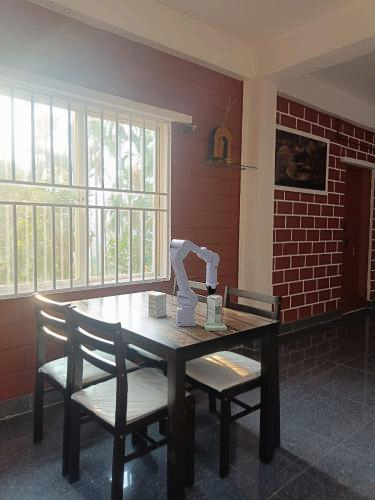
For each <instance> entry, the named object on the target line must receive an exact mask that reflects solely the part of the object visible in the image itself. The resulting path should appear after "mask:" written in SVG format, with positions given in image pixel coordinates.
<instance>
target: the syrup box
mask: <svg viewBox="0 0 375 500" xmlns="http://www.w3.org/2000/svg"><path fill="white" fill-rule="evenodd" d="M206 298H207V299H206V320H205V321H206V322H205V323H222V315H223V296H222V295H219V294H214V295H210V296H208V295H207V296H206Z"/></svg>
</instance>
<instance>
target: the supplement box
mask: <svg viewBox="0 0 375 500" xmlns="http://www.w3.org/2000/svg"><path fill="white" fill-rule="evenodd" d="M147 298H148V301H147V302H148V303H147V304H148V310H147V311H148V317H152V318H155V319H158V318H159V319H160V318H162V317H166V316H167V293H164V292H159V291H156V292H150V293H148V297H147Z"/></svg>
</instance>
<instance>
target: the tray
mask: <svg viewBox="0 0 375 500" xmlns="http://www.w3.org/2000/svg"><path fill="white" fill-rule="evenodd" d="M203 327H204V329H205V330H206V332H207V331H208V332H211V331H213V332H215V331H216V332H217V331H224V332H225V331H228V327H227V325H226V324H225V323H224V322H221V323H206V322H203Z"/></svg>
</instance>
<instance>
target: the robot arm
mask: <svg viewBox="0 0 375 500" xmlns="http://www.w3.org/2000/svg"><path fill="white" fill-rule="evenodd" d="M207 248H208V247H205V246H201V247H199V246H198V245H196V244H195V243H193V241H190V240H188V239H174V238H173V239H172V240H171V241H170V242H169V244H168V249H169V256H170V257H169V258H170V259H169V260H170V263H171V267H172V270H173V273H174V277H175V280H176V283H177V286H178V290H179V291H178V292H177V294H176V296H177V303H178V305H179V307H176V312H175V313H176V314H175V315H176V318H175V322H176V326H177V327H196V326H197V324H196V321H195V317H196V315H195V314H196V310H195V309H196V308H197V306H198V305H199V297H198V296H197V294H196V292H195V291H194V290H193V289H192V288H191V286H190V283H189V279H188V274H187V272H186V269H185V266H184V262H183V260H184V259H186V257H187V255H188V254H189V253H190V252H192V253H195V254H196V255H197V257H198V258H200V259H202V260H203V261H204V262H205V263H206V277H205V278H206V279H205V280H206V281H205V285H206V286H205V288H206V291H207V296H210V295H216V291H217V289H218V287H217V285H220V283H219V282H218V281H217V280H218V266H219V262H220V259H221V258H220V256H219V254H218V253H217V252H213V250H209V249H207Z"/></svg>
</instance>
